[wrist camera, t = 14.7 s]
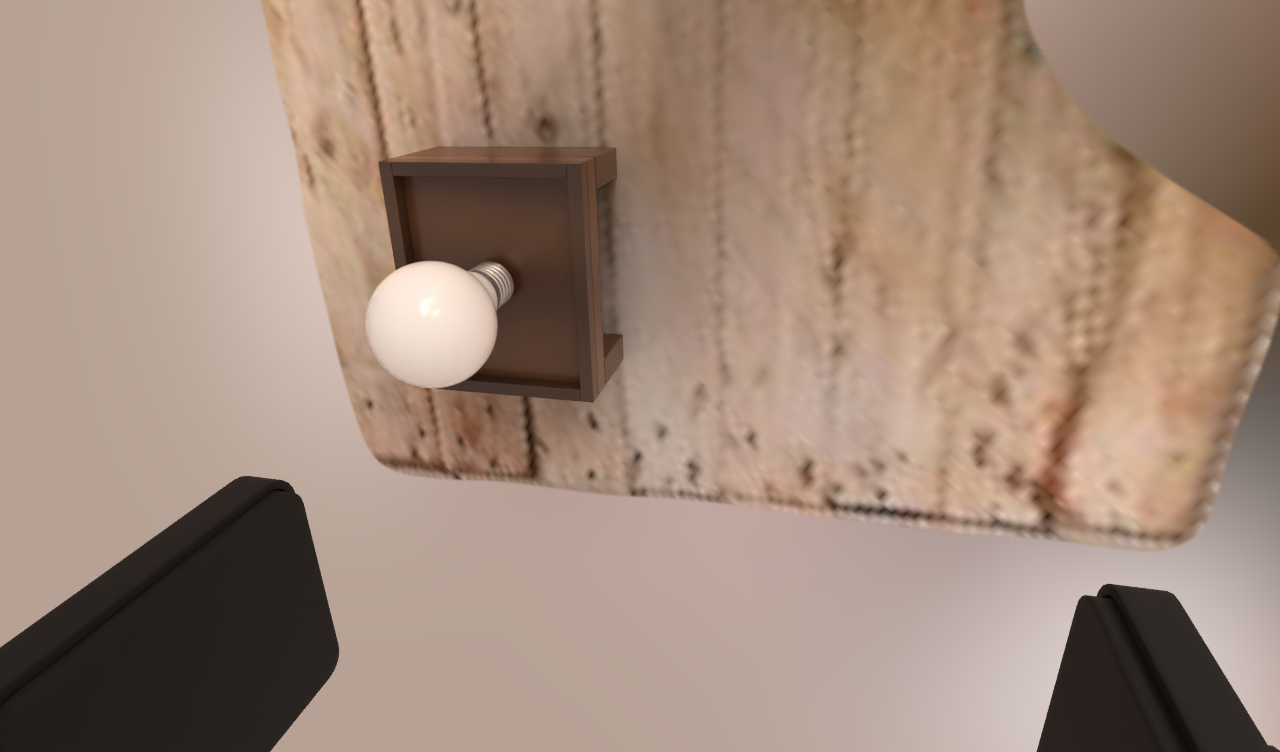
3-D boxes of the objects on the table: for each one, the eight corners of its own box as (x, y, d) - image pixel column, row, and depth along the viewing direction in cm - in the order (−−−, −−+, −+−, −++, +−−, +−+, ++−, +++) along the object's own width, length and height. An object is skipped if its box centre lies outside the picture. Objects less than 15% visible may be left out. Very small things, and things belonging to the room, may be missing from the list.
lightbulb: (449, 217, 43) (335, 268, 33) (551, 239, 42) (465, 298, 32) (446, 318, 46) (340, 392, 36) (543, 340, 45) (460, 423, 35)
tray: (437, 146, 48) (377, 161, 41) (616, 147, 45) (580, 163, 39) (463, 347, 53) (414, 387, 47) (623, 359, 51) (593, 402, 44)
